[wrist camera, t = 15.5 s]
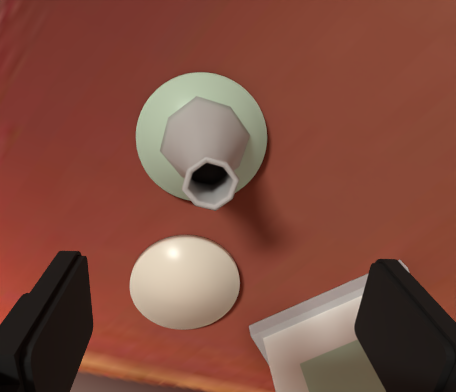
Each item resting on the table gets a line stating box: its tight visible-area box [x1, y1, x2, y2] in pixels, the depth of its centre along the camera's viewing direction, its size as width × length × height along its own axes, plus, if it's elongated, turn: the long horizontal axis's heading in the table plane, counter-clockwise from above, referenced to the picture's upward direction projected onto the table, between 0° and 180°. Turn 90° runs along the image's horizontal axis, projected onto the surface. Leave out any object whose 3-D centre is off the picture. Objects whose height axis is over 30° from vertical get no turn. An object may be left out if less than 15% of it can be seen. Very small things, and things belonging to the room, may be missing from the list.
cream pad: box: [130, 235, 240, 330], centre depth 35 cm, size 11×11×1 cm
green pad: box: [136, 72, 267, 201], centre depth 30 cm, size 11×11×1 cm
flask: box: [160, 96, 250, 211], centre depth 25 cm, size 7×7×10 cm
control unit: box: [249, 260, 409, 392], centre depth 33 cm, size 8×18×14 cm, turn 116°
